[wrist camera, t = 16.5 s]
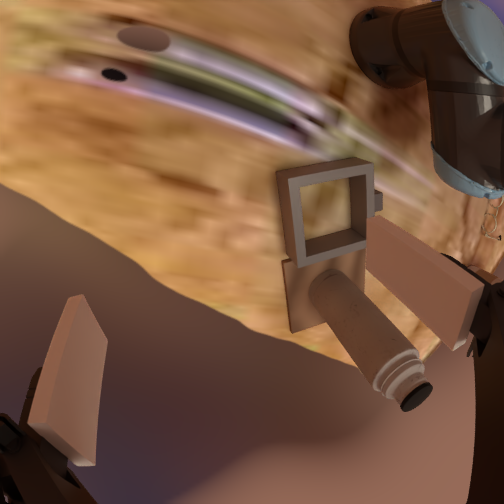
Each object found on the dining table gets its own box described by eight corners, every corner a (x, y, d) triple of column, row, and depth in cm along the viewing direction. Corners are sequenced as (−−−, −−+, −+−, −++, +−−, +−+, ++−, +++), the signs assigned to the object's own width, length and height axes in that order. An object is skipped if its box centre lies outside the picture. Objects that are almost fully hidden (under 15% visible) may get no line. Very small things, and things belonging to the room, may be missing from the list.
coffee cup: (465, 256, 65) (505, 284, 52) (483, 259, 69) (519, 284, 56) (449, 294, 70) (485, 324, 57) (468, 293, 73) (501, 320, 60)
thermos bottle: (348, 265, 54) (451, 368, 30) (344, 300, 58) (430, 404, 33) (309, 273, 52) (404, 393, 28) (307, 310, 56) (386, 428, 32)
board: (363, 237, 53) (366, 239, 53) (360, 305, 61) (363, 308, 60) (281, 260, 51) (283, 263, 50) (290, 330, 59) (292, 333, 58)
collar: (367, 155, 47) (385, 161, 42) (369, 230, 53) (385, 241, 49) (275, 171, 44) (287, 178, 40) (286, 254, 51) (298, 268, 46)
